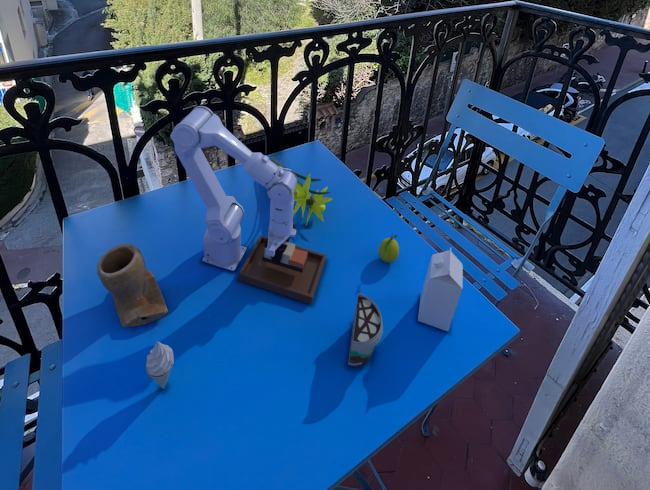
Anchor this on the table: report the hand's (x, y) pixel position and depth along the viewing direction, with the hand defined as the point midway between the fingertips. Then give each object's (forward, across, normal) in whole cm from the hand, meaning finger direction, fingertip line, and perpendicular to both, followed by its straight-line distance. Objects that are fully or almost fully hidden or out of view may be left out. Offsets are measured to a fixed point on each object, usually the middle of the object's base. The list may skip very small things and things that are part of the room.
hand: (279, 254), depth 105 cm
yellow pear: (+6, +13, -28) cm, 31 cm away
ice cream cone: (+5, -34, +12) cm, 36 cm away
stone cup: (+5, -21, +28) cm, 36 cm away
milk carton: (+6, +1, -40) cm, 41 cm away
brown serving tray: (+5, 0, -2) cm, 6 cm away
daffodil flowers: (+6, +25, +6) cm, 26 cm away
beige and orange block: (+1, 0, -2) cm, 2 cm away
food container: (+6, -13, -26) cm, 29 cm away
